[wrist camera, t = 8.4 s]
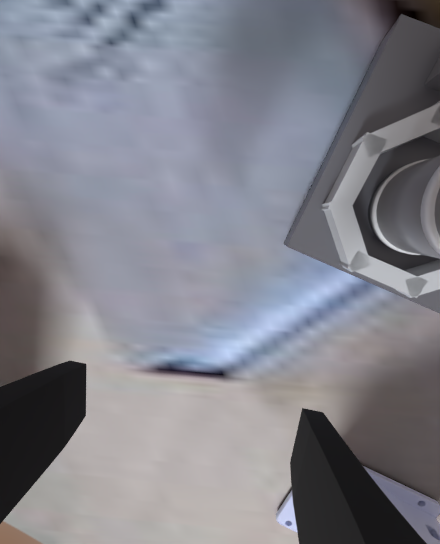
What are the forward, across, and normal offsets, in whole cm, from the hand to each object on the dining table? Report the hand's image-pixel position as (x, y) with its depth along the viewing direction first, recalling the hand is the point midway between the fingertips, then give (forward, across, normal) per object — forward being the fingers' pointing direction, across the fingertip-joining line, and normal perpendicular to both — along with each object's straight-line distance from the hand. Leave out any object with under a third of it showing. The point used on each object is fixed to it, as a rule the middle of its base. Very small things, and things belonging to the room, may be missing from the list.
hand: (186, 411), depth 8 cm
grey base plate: (+10, -10, -9) cm, 17 cm away
